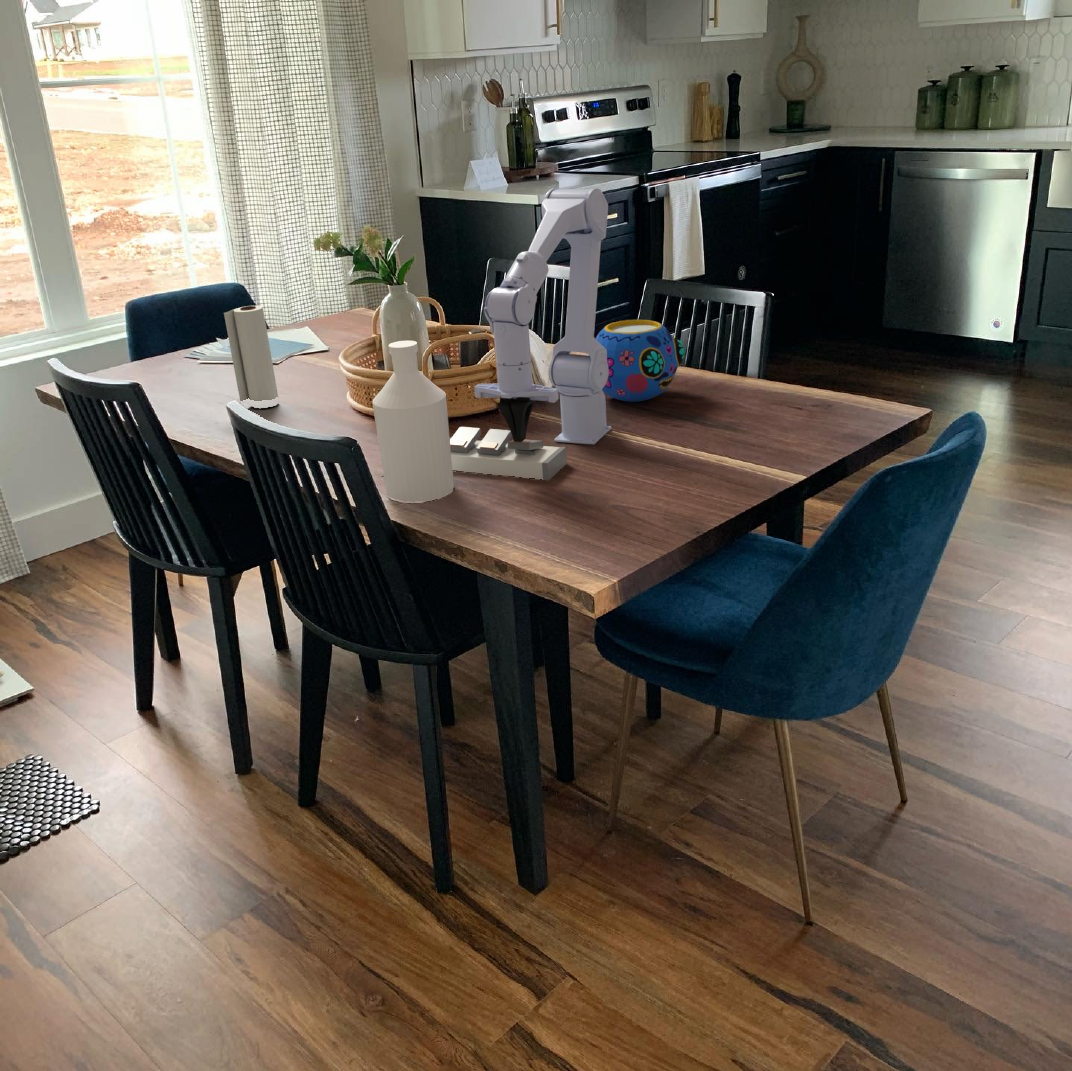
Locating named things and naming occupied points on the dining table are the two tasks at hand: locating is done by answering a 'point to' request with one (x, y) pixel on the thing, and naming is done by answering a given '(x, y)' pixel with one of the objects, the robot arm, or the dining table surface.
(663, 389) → the ceramic pot
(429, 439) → the bottle
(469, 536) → the dining table surface
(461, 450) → the block
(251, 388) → the paper towel roll
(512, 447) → the rocker
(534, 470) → the power strip
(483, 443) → the rocker
